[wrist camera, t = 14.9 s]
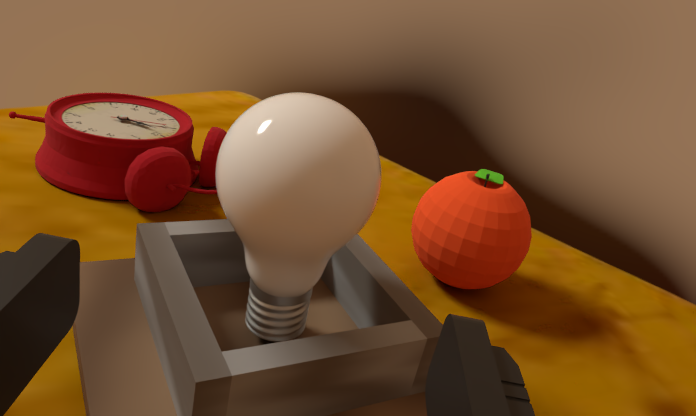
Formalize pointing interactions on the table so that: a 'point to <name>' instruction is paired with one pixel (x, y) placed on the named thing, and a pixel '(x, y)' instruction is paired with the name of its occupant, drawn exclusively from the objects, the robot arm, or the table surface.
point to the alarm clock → (124, 149)
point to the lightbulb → (294, 199)
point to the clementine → (471, 230)
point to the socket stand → (245, 334)
